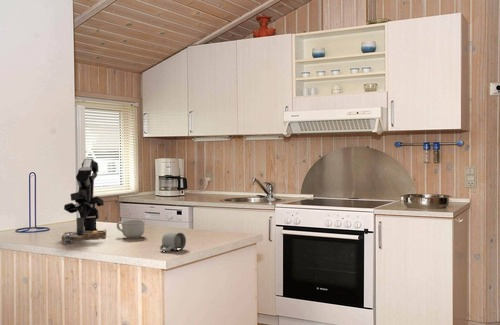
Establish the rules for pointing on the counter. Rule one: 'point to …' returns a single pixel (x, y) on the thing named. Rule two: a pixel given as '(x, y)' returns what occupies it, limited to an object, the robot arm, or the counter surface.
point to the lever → (79, 231)
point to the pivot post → (67, 241)
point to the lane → (88, 235)
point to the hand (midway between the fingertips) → (83, 220)
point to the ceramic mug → (173, 241)
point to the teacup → (132, 228)
